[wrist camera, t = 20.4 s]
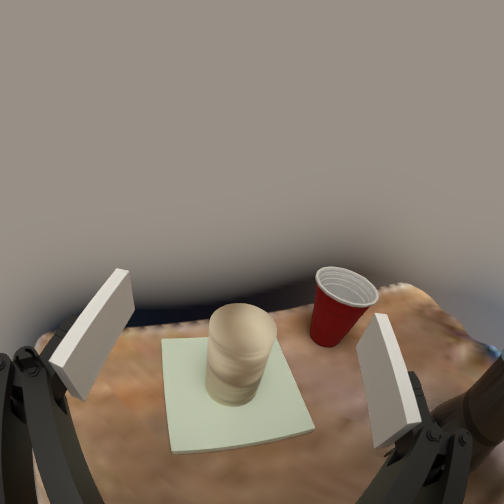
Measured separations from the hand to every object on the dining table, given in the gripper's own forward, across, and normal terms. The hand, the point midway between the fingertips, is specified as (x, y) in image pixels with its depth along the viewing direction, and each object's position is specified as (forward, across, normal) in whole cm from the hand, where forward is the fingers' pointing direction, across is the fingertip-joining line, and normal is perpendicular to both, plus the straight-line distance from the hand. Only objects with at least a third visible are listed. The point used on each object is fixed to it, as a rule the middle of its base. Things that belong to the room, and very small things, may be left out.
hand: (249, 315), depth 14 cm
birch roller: (+10, 0, -23) cm, 25 cm away
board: (+10, 0, -24) cm, 26 cm away
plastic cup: (+24, +15, -25) cm, 37 cm away
